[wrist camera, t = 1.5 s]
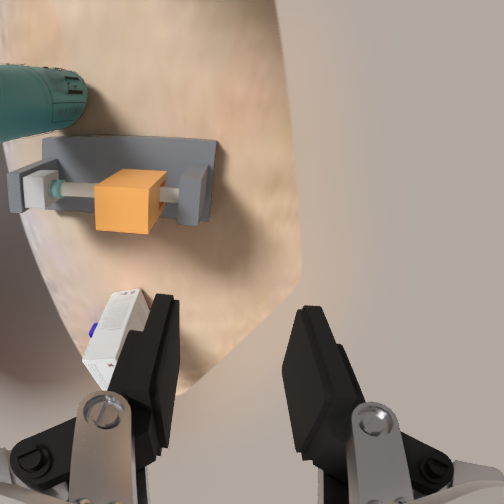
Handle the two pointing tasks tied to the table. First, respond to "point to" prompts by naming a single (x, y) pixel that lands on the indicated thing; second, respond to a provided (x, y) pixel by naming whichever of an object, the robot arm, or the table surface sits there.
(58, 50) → the table surface
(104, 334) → the skincare box
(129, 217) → the orange rectangular block
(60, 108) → the beverage bottle
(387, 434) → the robot arm
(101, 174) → the rail
